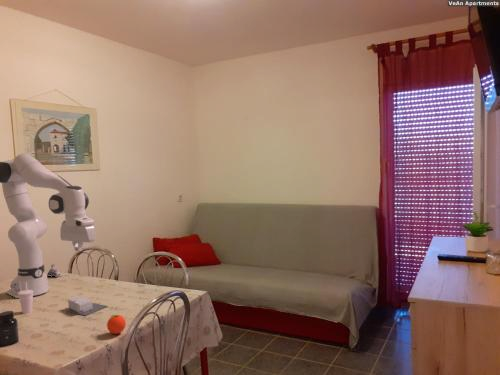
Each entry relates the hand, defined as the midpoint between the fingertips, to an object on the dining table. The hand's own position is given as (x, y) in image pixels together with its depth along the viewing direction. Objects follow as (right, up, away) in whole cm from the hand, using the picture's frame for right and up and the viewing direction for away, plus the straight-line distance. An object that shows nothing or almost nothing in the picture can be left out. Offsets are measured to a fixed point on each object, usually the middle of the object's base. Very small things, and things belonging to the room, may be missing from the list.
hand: (78, 250), depth 180 cm
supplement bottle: (-11, -30, -34) cm, 46 cm away
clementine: (+27, -28, -27) cm, 47 cm away
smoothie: (-23, -29, -1) cm, 37 cm away
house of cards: (-41, -26, +64) cm, 80 cm away
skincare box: (-4, -25, +4) cm, 25 cm away
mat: (+4, -27, 0) cm, 27 cm away
